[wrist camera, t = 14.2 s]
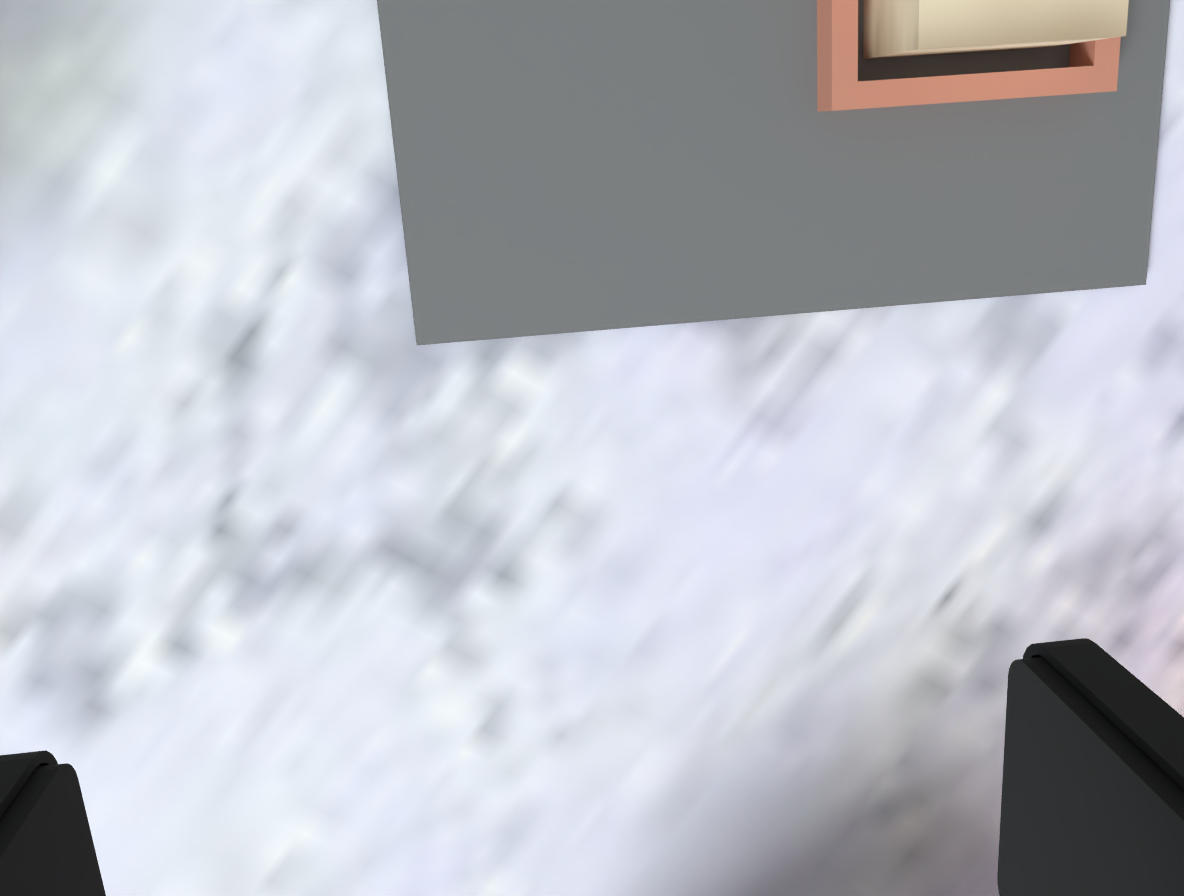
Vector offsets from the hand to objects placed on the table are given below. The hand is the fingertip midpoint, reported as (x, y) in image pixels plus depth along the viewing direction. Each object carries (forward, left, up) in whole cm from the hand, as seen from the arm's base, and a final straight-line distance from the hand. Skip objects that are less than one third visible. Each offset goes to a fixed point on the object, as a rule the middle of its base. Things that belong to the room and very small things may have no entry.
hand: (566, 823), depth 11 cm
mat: (+10, +10, -26) cm, 30 cm away
